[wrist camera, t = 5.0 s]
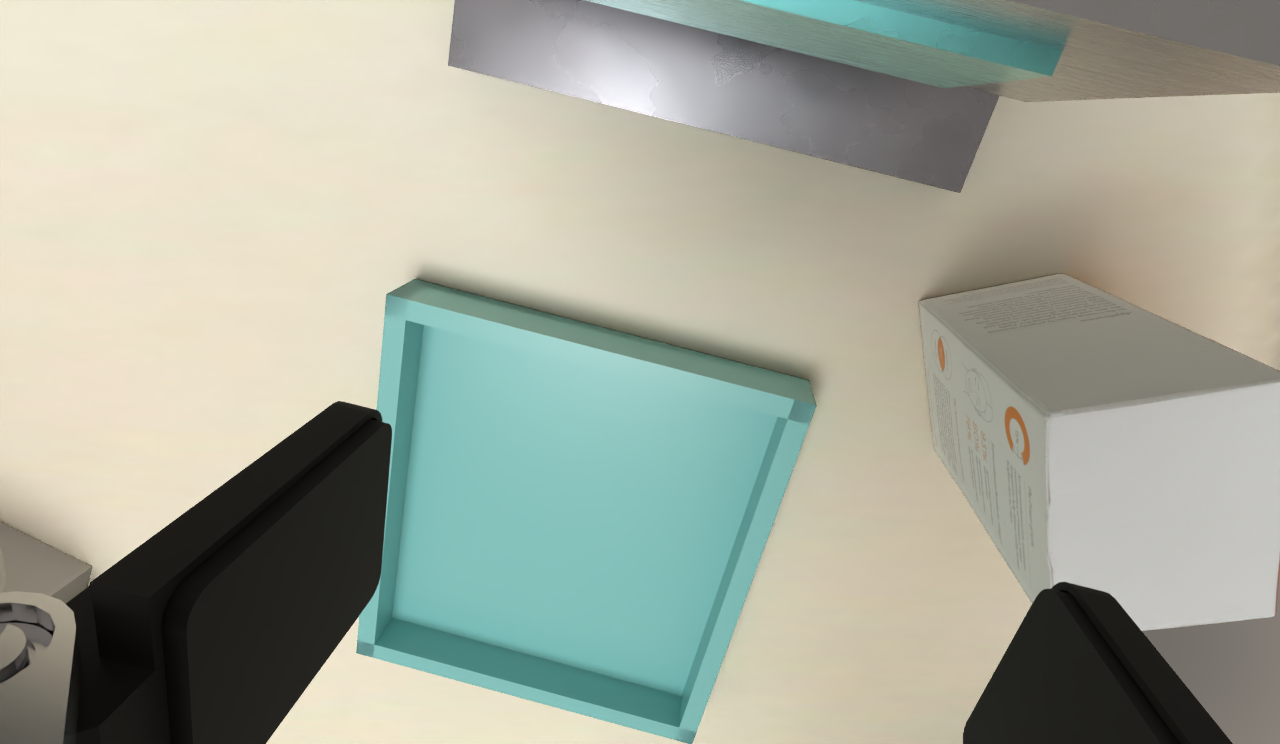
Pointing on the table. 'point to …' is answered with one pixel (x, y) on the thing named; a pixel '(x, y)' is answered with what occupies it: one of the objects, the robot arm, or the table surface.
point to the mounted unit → (868, 64)
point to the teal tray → (571, 506)
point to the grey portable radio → (39, 567)
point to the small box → (1109, 448)
